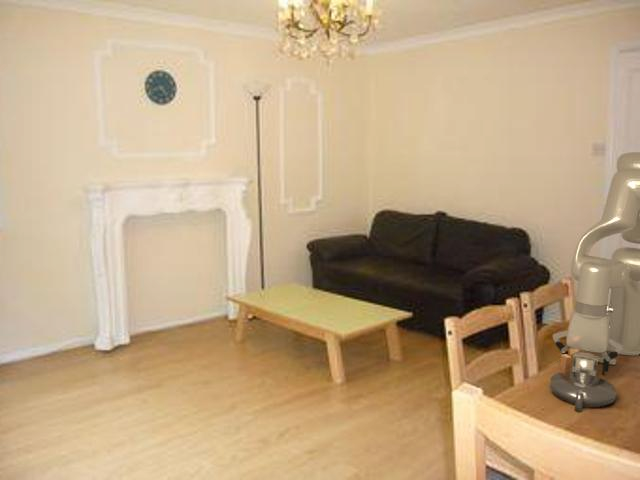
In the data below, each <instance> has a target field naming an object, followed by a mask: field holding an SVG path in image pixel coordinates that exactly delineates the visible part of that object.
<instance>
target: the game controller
mask: <svg viewBox="0 0 640 480" xmlns="http://www.w3.org/2000/svg"><path fill="white" fill-rule="evenodd" d="M596 356H597V355H596ZM597 357H598V363H600V364H603V360H604V357H603V355H601V356H597ZM616 364H617V359H616V358H614V359H612V360H611V361H610V362H609V365H616Z"/></svg>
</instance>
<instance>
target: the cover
mask: <svg viewBox="0 0 640 480" xmlns="http://www.w3.org/2000/svg"><path fill="white" fill-rule="evenodd" d="M572 356H573V358H572V366H571V367H572V368H571V372H577V373H584V374H589V375H593V376H596V377H597V370H598V363H599V362H598V357H597V355H595V354H592V353H589V352H581V351H579V352H575V353H573V355H572Z"/></svg>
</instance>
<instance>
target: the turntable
mask: <svg viewBox="0 0 640 480" xmlns="http://www.w3.org/2000/svg"><path fill="white" fill-rule="evenodd" d="M572 360H573V358H572V356H570V355H569V354H568V355H567V354H564V355H562V354H560V362H559V363H560V364H559V372H557V373H555V374H553V375H552V376H550V382H549V388H550V390H551V392H552V393H554V395H556V396H557V397H558V396H559V397H558V398H560V397H561V398H563V399H566V400H569V401H572V402H575V401H576V393H577V392H579V390H582V393H583V394H584V397H583V404H584V405H595V406H599V405H604V406H607V405H610V404H612V403H614V402H615V400H616V394H617V389H616V387H615V386H614V384H613V383H610V382H609V381H608V380H606V379H603V378H601V377H599V376H597V375H596V376H593V375H589V374H584V373H577V372H572V371H571V369H572V368H571V367H572V366H571V365H572ZM561 398H560V399H561ZM563 399H562V400H563Z"/></svg>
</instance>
